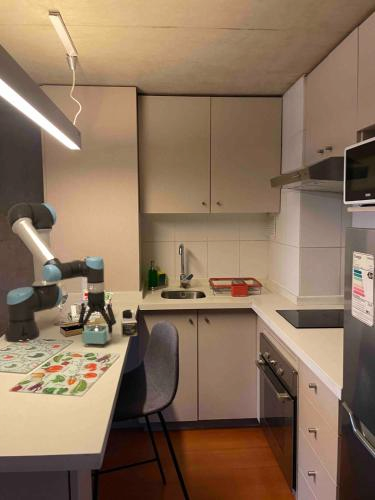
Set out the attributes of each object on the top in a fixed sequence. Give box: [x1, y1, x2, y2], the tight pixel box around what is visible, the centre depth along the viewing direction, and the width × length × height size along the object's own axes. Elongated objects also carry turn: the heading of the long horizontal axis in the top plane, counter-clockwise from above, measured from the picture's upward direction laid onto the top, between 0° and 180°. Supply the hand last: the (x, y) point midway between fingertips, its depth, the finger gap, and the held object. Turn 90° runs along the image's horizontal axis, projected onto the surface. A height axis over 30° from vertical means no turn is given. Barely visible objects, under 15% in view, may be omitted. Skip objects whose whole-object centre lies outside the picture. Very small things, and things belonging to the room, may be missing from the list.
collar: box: [81, 324, 113, 344], centre depth 169 cm, size 10×10×5 cm
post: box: [85, 324, 109, 348], centre depth 169 cm, size 8×8×9 cm
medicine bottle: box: [120, 309, 138, 338], centre depth 182 cm, size 7×7×12 cm
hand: (97, 339), depth 170 cm, fingers closed on collar, 10 cm apart
